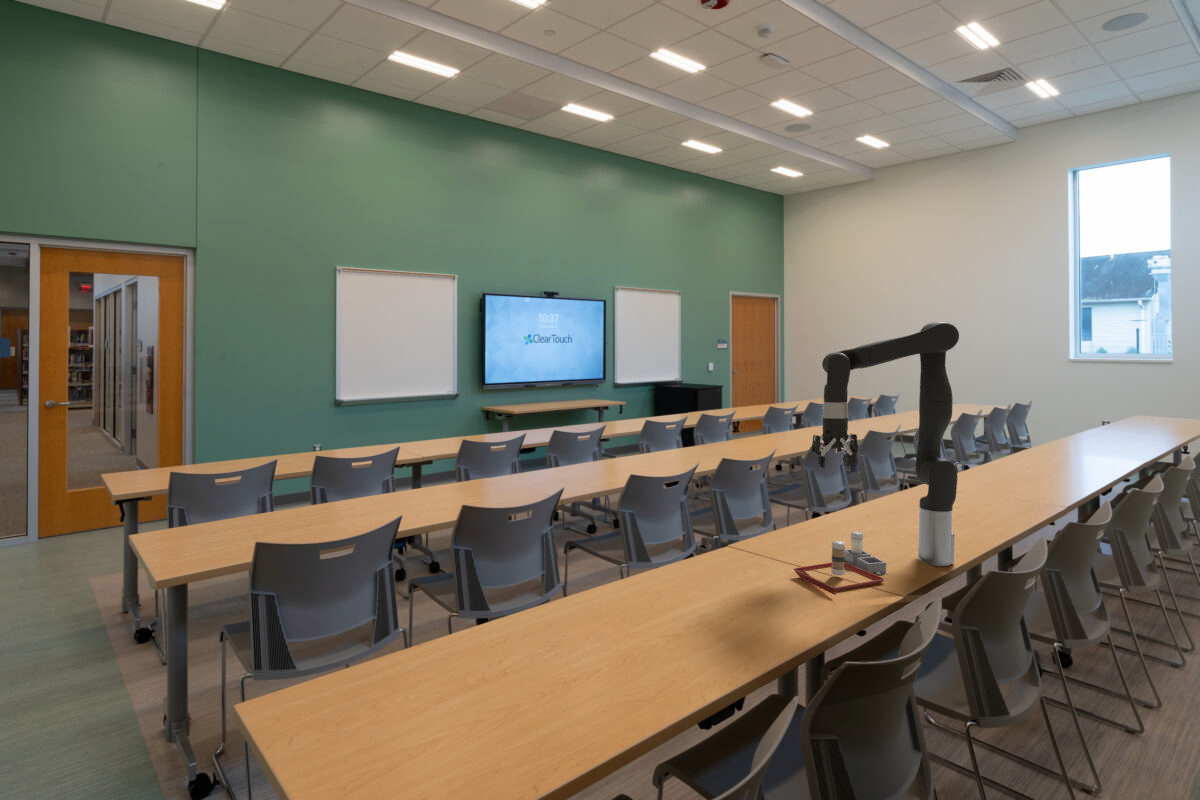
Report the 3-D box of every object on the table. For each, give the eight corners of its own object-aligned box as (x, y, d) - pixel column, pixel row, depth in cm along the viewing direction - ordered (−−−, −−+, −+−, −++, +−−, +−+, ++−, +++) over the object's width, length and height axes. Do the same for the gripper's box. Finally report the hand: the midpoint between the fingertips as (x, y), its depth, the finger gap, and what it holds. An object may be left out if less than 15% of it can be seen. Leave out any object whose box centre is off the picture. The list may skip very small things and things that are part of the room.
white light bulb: (858, 559, 205) (859, 531, 204) (865, 563, 201) (865, 534, 201) (848, 560, 204) (848, 531, 204) (854, 563, 201) (854, 535, 200)
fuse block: (858, 561, 207) (858, 547, 207) (889, 578, 192) (889, 563, 191) (840, 562, 206) (840, 548, 206) (869, 580, 191) (869, 565, 190)
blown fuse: (840, 570, 191) (840, 540, 190) (847, 574, 187) (847, 544, 187) (828, 571, 190) (829, 541, 190) (835, 575, 187) (835, 544, 186)
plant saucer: (792, 578, 194) (792, 567, 194) (840, 570, 201) (841, 560, 200) (833, 599, 177) (834, 587, 177) (885, 590, 184) (885, 578, 184)
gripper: (849, 414, 211) (848, 464, 212) (808, 415, 208) (807, 466, 210) (862, 416, 203) (861, 468, 204) (820, 418, 201) (819, 470, 202)
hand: (834, 467), depth 207 cm, fingers open, 8 cm apart
